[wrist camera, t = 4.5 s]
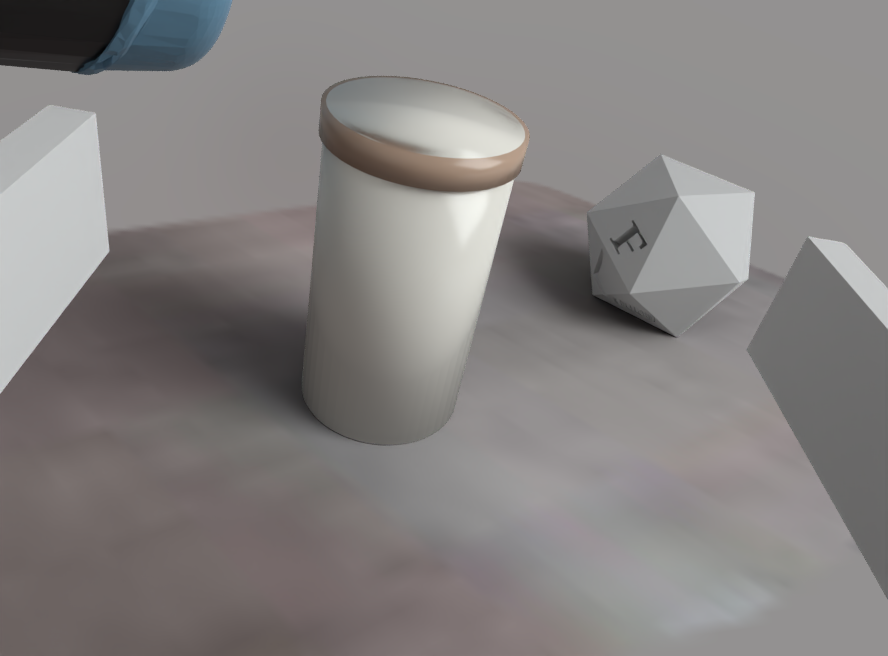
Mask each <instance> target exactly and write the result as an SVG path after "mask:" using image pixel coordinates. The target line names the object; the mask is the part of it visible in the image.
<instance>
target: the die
mask: <svg viewBox="0 0 888 656" xmlns="http://www.w3.org/2000/svg"><path fill="white" fill-rule="evenodd" d="M754 195H755V193H754V192H752V191H750V190H748V189H745V188H743V187H740V186H738V185H735V184H733V183H731V182H728V181H726V180H723V179H721V178H718V177H716V176H713V175H711V174H708V173H706V172H704V171H701V170H699V169H696V168H694V167H691V166H689V165H686V164H684V163H682V162H679V161H677V160H674V159H672V158H669V157H667V156H664V155H662V154H660V155H659V156H658V157H656V158H655V159H654V160H653V161H652V162H650V163H649V164H648V165H646V166H645V167H644V168H643V169H641V170H640V171H639V172H637V173H636V174H635V175H634V176H632V177H631V178H630V179H629V180H627V181H626V182H625V183H624V184H622V185H621V186H620V187H619V188H617V189H616V190H615V191H613V192H612V193H611V194H610V195H608V196H607V197H606V198H605V199H603V200H602V201H601V202H599V203H598V204H597V205H596V206H594V207H593V208H592V209H591V210H589V211H588V212H587V223H588V238H589V252H590V267H591V282H592V295H594V296H596V297H598V298H600V299H602V300H604V301H606V302H608V303H610V304H612V305H614V306H616V307H618V308H620V309H622V310H623V311H625V312H627V313H629V314H631V315H633V316H635V317H637V318H639V319H641V320H643V321H645V322H647V323H649V324H651V325H653V326H655V327H657V328H659V329H661V330H663V331H665V332H667V333H669V334H671V335H673V336H675V337H678V336H680V335H681V334H682V333H683V332H685V331H686V330H687V329H688V328H689V327H691V326H692V325H693V324H694V323H695V322H697V321H698V320H699V319H700V318H701V317H703V316H704V315H705V314H706V313H708V312H709V311H710V310H711V309H712V308H714V307H715V306H716V305H717V304H718V303H720V302H721V301H722V300H723V299H725V298H726V297H727V296H728V295H729V294H731V293H732V292H733V291H734V290H735V289H737V288H738V287H739V286H740V285H742V284H743V283H744V282H745V281H746V280H748V274H749V261H750V248H751V235H752V222H753V209H754V208H753V207H754Z"/></svg>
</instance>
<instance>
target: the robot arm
mask: <svg viewBox="0 0 888 656" xmlns="http://www.w3.org/2000/svg"><path fill="white" fill-rule="evenodd" d="M231 4H232V0H0V65H5V66H17V67H28V68H39V69H50V70H61V71H71V72H72V73H78V74H84V75H91V74H97V73H99V72H101V71H104V70H123V71H125V70H126V71H173V70H179V69H183V68H186V67H188V66H191V65H193V64H195V63H196V62H198V61H199V60H200V59H201V58H202V57H204V56H205V55H206V54H207V52H208V51H209V50H210V49H211V48H212V47H213V45H214V44H215V42H216V41H217V39H218V37H219V35H220V33H221V31H222V29H223V26H224V24H225V21H226V19H227V16H228V13H229V10H230V7H231ZM108 252H109V242H108V232H107V222H106V213H105V203H104V192H103V182H102V172H101V163H100V153H99V142H98V132H97V121H96V113H94V112H88V111H82V110H76V109H71V108H65V107H59V106H53V105H48V106H47V107H45V108H44V109H43V110H41V111H40V112H39V113H37V114H36V115H34V116H33V117H32V118H30V119H29V120H28V121H26V122H25V123H24V124H22V125H21V126H20V127H18V128H17V129H15V130H14V131H13V132H11V133H10V134H9V135H7V136H6V137H5V138H3V139H2V140H0V393H1V392H2V391H3V389H4V388H5V387H6V385H7V384H8V383H9V382H10V380H11V379H12V378H13V376H14V375H15V374H16V372H17V371H18V370H19V368H20V367H21V366H22V365H23V363H24V362H25V361H26V359H27V358H28V357H29V355H30V354H31V353H32V352H33V350H34V349H35V348H36V346H37V345H38V344H39V342H40V341H41V340H42V338H43V337H44V336H45V335H46V333H47V332H48V331H49V329H50V328H51V327H52V325H53V324H54V323H55V322H56V320H57V319H58V318H59V316H60V315H61V314H62V312H63V311H64V310H65V308H66V307H67V306H68V305H69V303H70V302H71V301H72V299H73V298H74V297H75V295H76V294H77V293H78V292H79V290H80V289H81V288H82V286H83V285H84V284H85V282H86V281H87V280H88V279H89V277H90V276H91V275H92V273H93V272H94V271H95V269H96V268H97V267H98V265H99V264H100V263H101V262H102V260H103V259H104V258H105V256H106V255H107V254H108ZM747 351H748V353H749V355H750V356H751V358H752V360H753V362H754V363H755V365H756V367H757V369H758V370H759V372H760V374H761V376H762V378H763V379H764V381H765V383H766V385H767V386H768V388H769V390H770V392H771V393H772V395H773V397H774V399H775V401H776V402H777V404H778V406H779V408H780V409H781V411H782V413H783V415H784V417H785V418H786V420H787V422H788V424H789V425H790V427H791V429H792V431H793V432H794V434H795V436H796V438H797V440H798V441H799V443H800V445H801V447H802V448H803V450H804V452H805V454H806V455H807V457H808V459H809V461H810V463H811V464H812V466H813V468H814V470H815V471H816V473H817V475H818V477H819V479H820V480H821V482H822V484H823V486H824V487H825V489H826V491H827V493H828V494H829V496H830V498H831V500H832V502H833V503H834V505H835V507H836V509H837V510H838V512H839V514H840V516H841V517H842V519H843V521H844V523H845V525H846V526H847V528H848V530H849V532H850V533H851V535H852V537H853V539H854V541H855V542H856V544H857V546H858V548H859V549H860V551H861V553H862V555H863V556H864V558H865V560H866V562H867V564H868V565H869V567H870V569H871V571H872V572H873V574H874V576H875V578H876V579H877V581H878V583H879V585H880V587H881V588H882V590H883V592H884V594H885V595H886V597H887V599H888V288H887V287H886V286H885V285H884V284H883V283H882V282H881V281H880V280H879V279H878V278H877V277H876V275H875V274H874V273H873V272H872V271H871V270H870V269H869V268H868V267H867V266H866V265H865V264H864V263H863V262H862V260H860V258H859V257H858V256H857V255H856V254H855V253H854V252H853V251H852V250H851V249H850V248H849V247H848V246H847V245H846V244H845V243H843V242H837V241H832V240H826V239H820V238H814V237H809V236H808V237H807V239H806V241H805V243H804V244H803V246H802V248H801V250H800V252H799V254H798V256H797V257H796V259H795V261H794V263H793V265H792V267H791V268H790V270H789V272H788V274H787V276H786V278H785V280H784V281H783V283H782V285H781V287H780V289H779V291H778V293H777V294H776V296H775V298H774V300H773V302H772V304H771V305H770V307H769V309H768V311H767V313H766V315H765V317H764V318H763V320H762V322H761V324H760V326H759V328H758V330H757V331H756V333H755V335H754V337H753V339H752V341H751V342H750V344H749V346H748V348H747Z"/></svg>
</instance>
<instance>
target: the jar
mask: <svg viewBox="0 0 888 656" xmlns="http://www.w3.org/2000/svg"><path fill="white" fill-rule="evenodd" d="M319 136H320V138H321V141H322V153H321V165H320V176H319V188H318V200H317V211H316V223H315V235H314V246H313V258H312V270H311V281H310V293H309V305H308V316H307V328H306V340H305V351H304V363H303V375H302V393H303V397H304V400H305V402H306V404H307V406H308V408H309V409H310V411H311V412H312V413H313V414H314V416H315V417H316V418H317V419H318V420H319V421H321V422H322V423H323V424H324V425H325V426H327V427H328V428H330V429H331V430H333V431H335V432H337V433H339V434H341V435H343V436H345V437H348V438H350V439H353V440H357V441H360V442H365V443H370V444H378V445H399V444H406V443H411V442H415V441H418V440H421V439H424V438H426V437H428V436H430V435H432V434H434V433H435V432H437V431H438V430H440V429H441V428H442V427H443V426H444V425H445V424H446V423H447V421H448V420H449V419H450V417H451V415H452V413H453V411H454V407H455V404H456V400H457V396H458V392H459V388H460V384H461V381H462V377H463V373H464V369H465V365H466V362H467V358H468V354H469V350H470V346H471V342H472V339H473V335H474V331H475V327H476V323H477V319H478V316H479V312H480V308H481V304H482V300H483V296H484V293H485V289H486V285H487V281H488V277H489V273H490V270H491V266H492V262H493V258H494V254H495V250H496V247H497V243H498V239H499V235H500V231H501V227H502V224H503V220H504V216H505V212H506V208H507V204H508V201H509V197H510V193H511V189H512V185H513V181H514V178H516V177H517V176H518V174H519V173H520V171H521V168H522V164H523V161H524V157H525V154H526V150H527V146H528V142H529V138H530V136H529V131H528V128H527V127H526V125H525V124H524V122H523V121H522V120H521V119H520V118H519V117H518V116H517V115H516V114H514V113H513V112H512V111H510V110H509V109H507V108H506V107H504V106H502V105H500V104H499V103H497V102H494V101H493V100H490V99H488V98H486V97H484V96H481V95H479V94H476V93H474V92H471V91H468V90H465V89H462V88H458V87H455V86H451V85H447V84H443V83H439V82H434V81H429V80H423V79H417V78H409V77H397V76H368V77H358V78H352V79H348V80H344V81H341V82H338V83H335V84H334V85H332V86H330V87H329V88H328V89H327V90H326V91H325V92H324V93H323V95H322V98H321V108H320V120H319Z"/></svg>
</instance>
